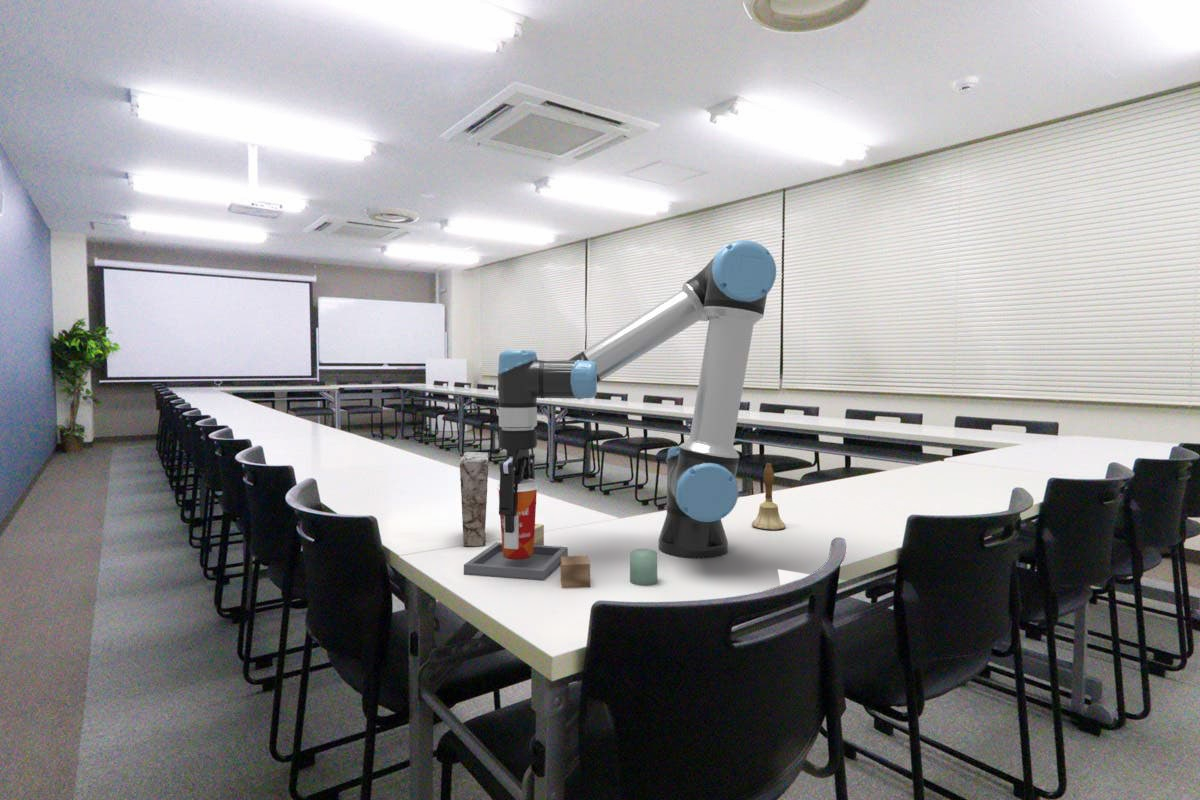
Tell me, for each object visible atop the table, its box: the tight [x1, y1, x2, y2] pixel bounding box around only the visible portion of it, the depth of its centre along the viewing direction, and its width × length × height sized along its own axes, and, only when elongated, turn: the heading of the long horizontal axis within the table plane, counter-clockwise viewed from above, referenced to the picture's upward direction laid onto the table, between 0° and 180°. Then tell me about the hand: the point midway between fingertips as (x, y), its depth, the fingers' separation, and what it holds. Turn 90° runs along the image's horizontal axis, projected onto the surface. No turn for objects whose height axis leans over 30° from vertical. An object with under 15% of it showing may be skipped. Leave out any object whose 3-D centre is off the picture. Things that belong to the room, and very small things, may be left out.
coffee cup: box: [496, 478, 540, 560], centre depth 125 cm, size 8×8×15 cm
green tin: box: [629, 548, 658, 587], centre depth 116 cm, size 5×5×6 cm
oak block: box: [534, 523, 545, 546], centre depth 140 cm, size 6×4×5 cm, turn 67°
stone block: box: [459, 451, 489, 547], centre depth 146 cm, size 13×7×20 cm, turn 15°
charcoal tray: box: [463, 541, 569, 582], centre depth 126 cm, size 16×16×2 cm
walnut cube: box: [560, 555, 591, 589], centre depth 115 cm, size 5×5×5 cm
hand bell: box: [751, 462, 786, 531], centre depth 160 cm, size 8×8×16 cm
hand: (518, 542), depth 126 cm, fingers closed on coffee cup, 7 cm apart
